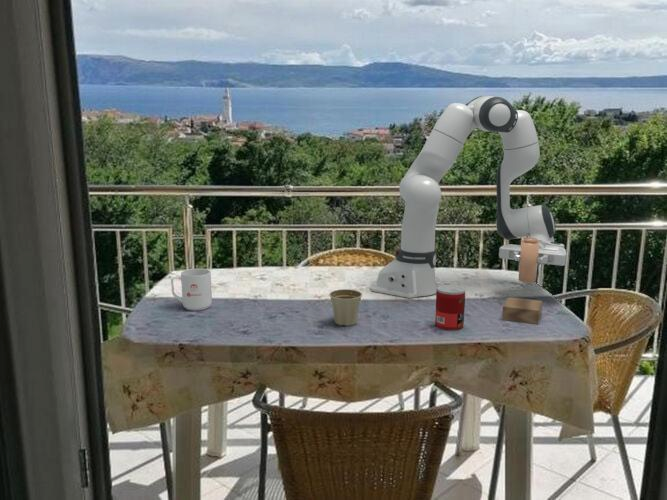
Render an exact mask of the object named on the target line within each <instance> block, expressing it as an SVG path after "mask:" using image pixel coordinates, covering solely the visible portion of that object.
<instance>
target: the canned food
mask: <svg viewBox="0 0 667 500" xmlns="http://www.w3.org/2000/svg"><path fill="white" fill-rule="evenodd" d="M435 294H436V295H435V317H434V318H435V322H434V323H435V326H436V327H438V328H439V329H442V330H445V331H446V330H448V331H456V330H461V329H462V328H463V327H464V324H465V305H466V289H465V287H463V286H461V285H455V284H441V285H437V290H436V293H435Z"/></svg>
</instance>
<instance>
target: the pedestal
mask: <svg viewBox="0 0 667 500" xmlns="http://www.w3.org/2000/svg"><path fill="white" fill-rule="evenodd" d="M542 308H543V300H537V299H529V298H528V299H527V298H519V297H509V296H508V297H507V298H506V300H505V301H504V303H503V305H502V313H501V314H502V315H501V316H502V318H501V320H502V321H510V322H519V323H525V324H535V325H539V321H540V319H541V316H542V311H543V309H542Z"/></svg>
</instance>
